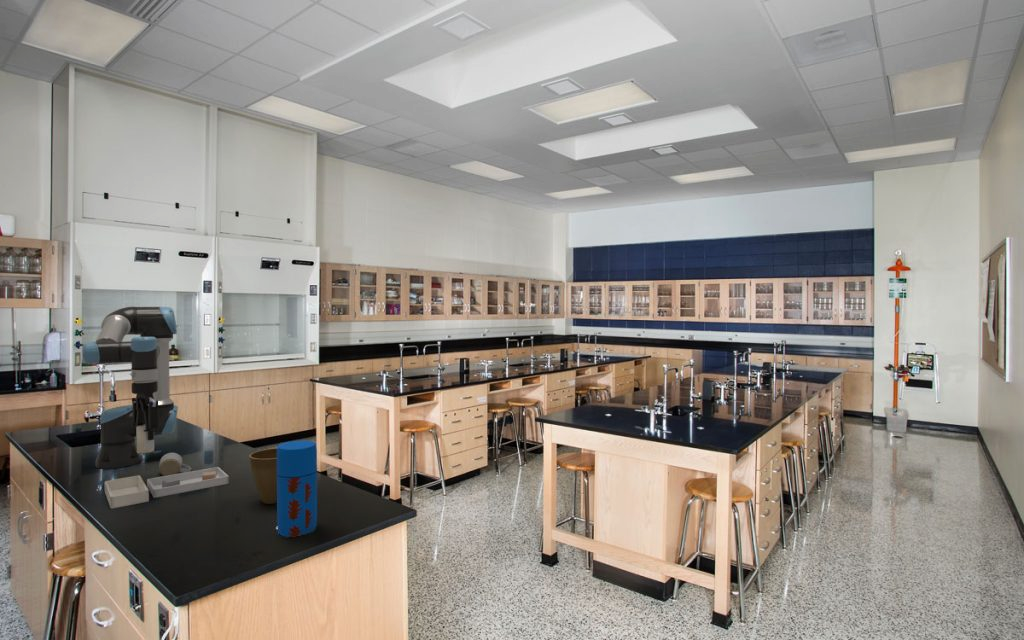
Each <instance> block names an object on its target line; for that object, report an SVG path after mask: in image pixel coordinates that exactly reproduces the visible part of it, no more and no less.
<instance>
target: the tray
mask: <svg viewBox="0 0 1024 640" xmlns="http://www.w3.org/2000/svg"><path fill="white" fill-rule="evenodd" d="M214 471H216V478H214V479H208V480H203V481H202V475H203V473H204V472H214ZM171 478H177V479H179V480H180V485H175V486H170V487H164V488H162V480H167V479H171ZM228 484H230V476H229V475H228V474H227V473H226V472H225V471H224V470H222V468H220V467H219V466H215V467H209V468H204V469H203V468H202V469H199V470H193V471H190V472H185V473H181V472H179V473H177V474H174V475H168V476H164V475H162V476H158V477H157V476H156V477H152V478H147V479H146V487H147V488H148V490H149V494H151V496H152V497H153V499H154V498H155V499H156V498H161V497H165V496H167V497H168V496H171V495H172V496H173V495H176V494H182V493H187V492H193V491H197V490H203V489H208V488H212V487H218V486H222V485H223V486H224V485H228Z"/></svg>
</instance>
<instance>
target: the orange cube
mask: <svg viewBox="0 0 1024 640" xmlns="http://www.w3.org/2000/svg"><path fill="white" fill-rule="evenodd" d="M214 478H216V471H214V472H204V473H203V475H202V481H203V480H208V479H214Z"/></svg>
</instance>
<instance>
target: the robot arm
mask: <svg viewBox="0 0 1024 640" xmlns="http://www.w3.org/2000/svg"><path fill="white" fill-rule="evenodd" d="M177 334H178V329H177V322H176V316H175V311H174V309H173V308H172V307H168V306H126V307H123V308H119V309H117V310H114V311H112V312H109V314H108V315H106V316H105V317H104V319H103V320H102V322H101V330H100V332H99V334H98V336H97V337H96V340H95V341H90V342H85V343H83V346H82V361H83V362H84V363H85V364H88V365H89V364H91V365H92V364H93V365H95V364H96V365H100V364H102V365H103V364H119V363H121V364H122V363H131V364H130V365H131V369H130V370H131V371H130V372H131V373H129V375H130V376H131V381H132V383H130V384H131V394H134V395H135V397H132V398H131V404H130V405H129V404H127V405H126V404H125V405H120V406H116V407H112V408H108V409H106V410H103V411H102V412H101V413H100V420H99V421H100V422H99V425H100V447H99V450H98V453H97V457H96V459H95V467H96V469H105V470H106V469H107V470H110V469H118V468H124V467H129V466H132V465H136V464H138V463H140V462H141V460H142V459H141V458H142V457H141V456H142V454H141V453H137V441H136V438H137V432H136V426H139V425H145V426H146V430H144V436H145V450H150V449H154V450H155V436H158V435H160V436H162V435H166V434H173V432H174V431H175V428H176V422H177V417H178V416H177V415H178V407H179V406H178V405H176V404H175V402H174V400H173V399H171V397H170V342H171V341H172V340H173V339H174V335H177ZM127 335H128V336H129V335H130V336H131V335H134V336H135V335H137V336H135V337H133V338H131V340H130V341H123V340H124V338H125V336H127Z"/></svg>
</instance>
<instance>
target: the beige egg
mask: <svg viewBox="0 0 1024 640" xmlns="http://www.w3.org/2000/svg"><path fill="white" fill-rule="evenodd" d="M144 430H146V426H145V425H139V426H136V432H137V437H136V445H137V453H140V454H147V453H148V454H150V453H152V452H154V451H155V448H154V449H150V450H145V436H144Z"/></svg>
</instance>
